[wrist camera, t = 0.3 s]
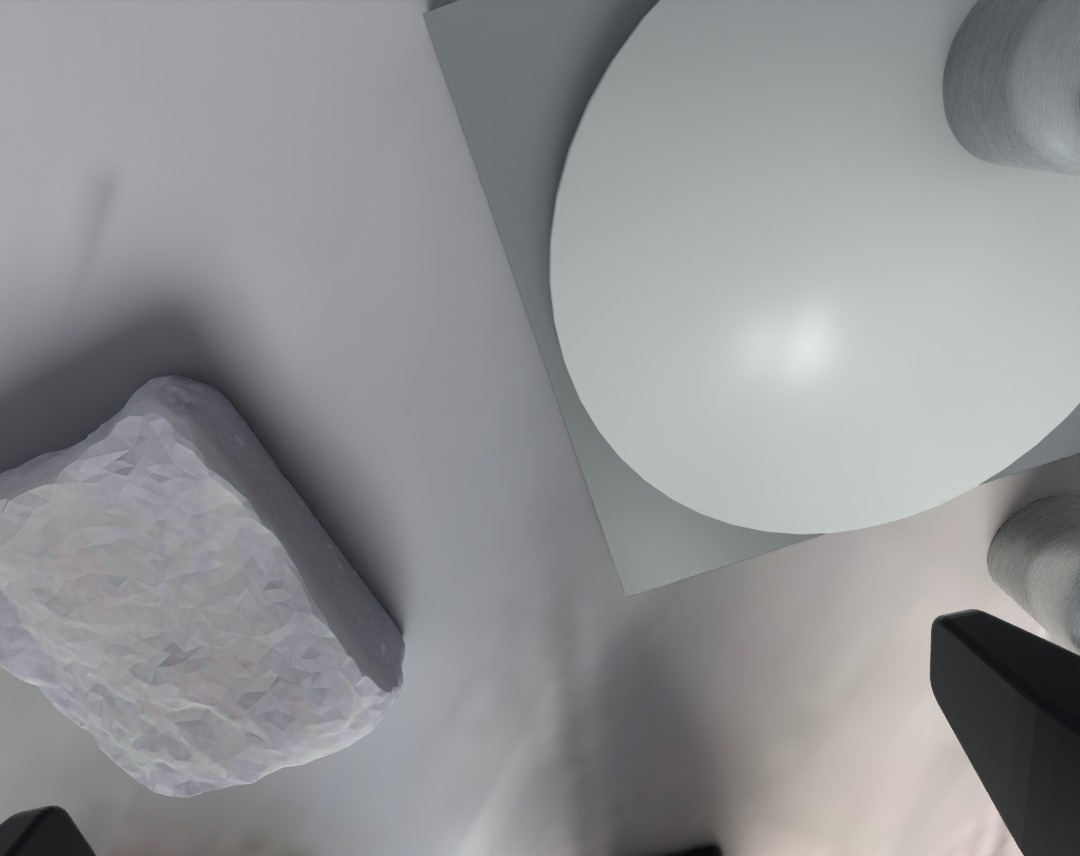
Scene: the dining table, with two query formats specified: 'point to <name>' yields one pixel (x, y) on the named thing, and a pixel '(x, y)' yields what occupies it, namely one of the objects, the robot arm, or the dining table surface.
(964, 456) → the scale
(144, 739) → the stone block
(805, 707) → the dining table surface
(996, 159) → the cylinder
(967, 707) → the robot arm
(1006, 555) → the cylinder
